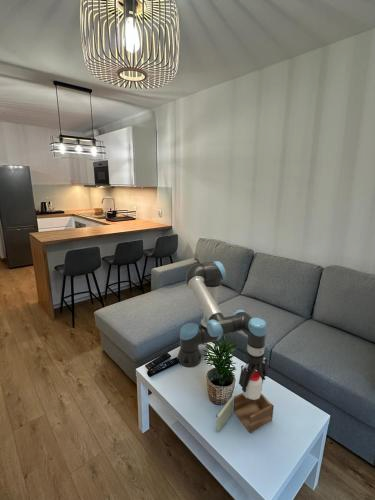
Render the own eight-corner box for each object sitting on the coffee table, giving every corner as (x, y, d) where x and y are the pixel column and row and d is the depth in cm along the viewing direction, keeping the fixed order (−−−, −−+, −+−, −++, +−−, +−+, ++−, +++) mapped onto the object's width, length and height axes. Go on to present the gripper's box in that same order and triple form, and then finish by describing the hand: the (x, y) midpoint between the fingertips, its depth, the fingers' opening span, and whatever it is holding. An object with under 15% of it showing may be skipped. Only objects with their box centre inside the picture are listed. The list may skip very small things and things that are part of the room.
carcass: (233, 411, 131) (233, 396, 129) (253, 400, 137) (255, 386, 134) (250, 433, 120) (251, 417, 117) (272, 420, 126) (273, 405, 123)
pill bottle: (248, 384, 129) (249, 365, 126) (263, 392, 124) (265, 372, 121) (241, 393, 123) (242, 374, 120) (256, 402, 119) (258, 382, 115)
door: (228, 409, 132) (229, 395, 130) (232, 411, 131) (233, 397, 128) (214, 428, 122) (215, 414, 119) (219, 431, 120) (219, 417, 118)
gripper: (242, 364, 110) (239, 407, 116) (278, 349, 119) (274, 390, 125) (231, 353, 116) (229, 395, 122) (266, 340, 125) (263, 379, 131)
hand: (252, 392), depth 124 cm, fingers closed on pill bottle, 8 cm apart
